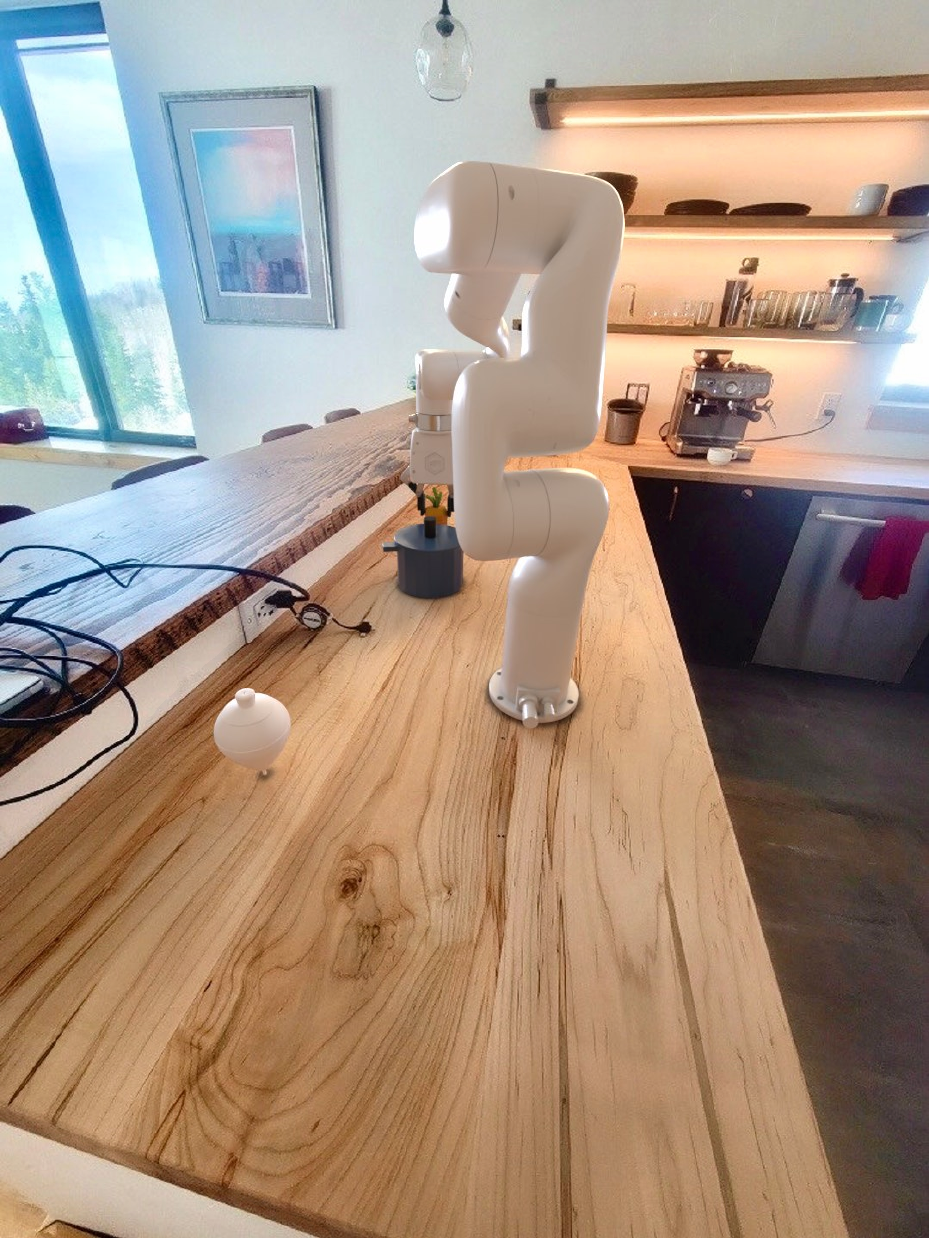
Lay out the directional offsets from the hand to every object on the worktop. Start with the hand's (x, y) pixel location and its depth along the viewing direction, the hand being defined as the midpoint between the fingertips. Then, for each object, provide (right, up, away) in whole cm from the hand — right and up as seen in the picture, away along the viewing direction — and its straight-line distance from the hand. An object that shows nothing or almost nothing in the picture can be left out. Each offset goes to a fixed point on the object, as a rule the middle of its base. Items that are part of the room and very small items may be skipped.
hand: (436, 513), depth 105 cm
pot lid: (-1, -7, -10) cm, 12 cm away
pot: (-1, -15, -5) cm, 16 cm away
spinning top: (-17, -40, -47) cm, 64 cm away
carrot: (0, -9, +5) cm, 10 cm away
